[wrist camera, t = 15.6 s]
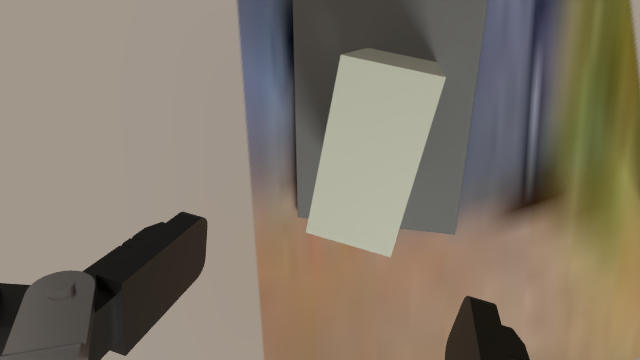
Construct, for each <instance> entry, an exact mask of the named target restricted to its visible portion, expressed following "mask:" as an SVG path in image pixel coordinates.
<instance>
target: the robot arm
mask: <svg viewBox="0 0 640 360" xmlns="http://www.w3.org/2000/svg"><path fill="white" fill-rule="evenodd" d="M206 239H207V220H206V219H205V218H203V217H200V216H196V215H193V214H189V213H186V212H181V213H179V214H178V215H176V216H175V217H174V218H172V219H171V220H170V221H168V222H167V223H164V222H161V223H158V224H155V225H152V226H149V227H146V228H144V229H143V230H141V231H140V232H139V233H137V234H136V235H134V236H133V238H132V239H129V240H127V241H126V242H124V243H123V244H122V246H119V247H117V248H116V249H114V250H113V251H111V252H110V253H108V254H107V255H106V256H104V257H103V258H101V259H100V260H98V261H97V262H96V263H94V264H93V265H91V266H90V267H88V268H87V269H85V270H84V271H83V272H81V271H62V272H57V273H53V274H50V275H47V276H45V277H42V278H41V279H39V280H37V281H36V282H34V283H33V284H32V285H20V284H4V283H0V360H101V358H102V357H103V356H104V355H105V354H106V353H107V352H108V351H109V350H111V351H113V352H116V353H119V354H122V355H124V356H126V355H127V354H128V353H129V352H130V350H131V349H132V348H133V347H134V346H135V345H136V344H137V342H139V341H140V340H141V339H142V337H143V336H144V335H145V334H146V333H147V332H148V331H149V330H150V329H151V327H153V325H155V323H156V322H157V321H158V320H159V319H160V318H161V317H162V316H163V315H164V314H165V313H166V312H167V310H168V309H169V308H170V307H171V306H172V305H173V304H174V303H175V302H176V301H177V300H178V298H179V297H180V296H181V295H182V294H183V293H184V292H185V291H186V290H187V289H188V288H189V287H190V286H191V285H192V283H193V282H194V281H195V280H196V279H197V278H198V277H199V275H200V273H201V271H202V269H203V267H204V263H205V256H206ZM445 360H530V359H529V356H528V353H527V350H526V347H525V344H524V343H523V342H522V341H521V339H520V338H519V337H518V335H517V334H516V333H515V331H514V330H513V329H512V328H510V327H506V326H503V325H501V321H500V317H499V314H498V310H497V307H496V305H495V304H494V303H490V302H487V301H484V300H480V299H477V298H473V297H470V296H466V297H465V298H464V300H463V302H462V305H461V307H460V310H459V312H458V315H457V317H456V320H455V322H454V325H453V327H452V329H451V332H450V334H449V337H448V340H447V345H446V351H445Z"/></svg>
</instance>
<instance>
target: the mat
mask: <svg viewBox="0 0 640 360" xmlns="http://www.w3.org/2000/svg"><path fill="white" fill-rule="evenodd" d="M487 5H488V0H293V34H294V76H295V118H296V160H297V203H298V217H301V218H309V214H310V209H311V204H312V198H313V193H314V188H315V183H316V178H317V173H318V168H319V163H320V158H321V153H322V148H323V142H324V137H325V132H326V127H327V122H328V117H329V112H330V107H331V102H332V97H333V91H334V86H335V81H336V76H337V71H338V66H339V61H340V56H341V54H345V53H349V52H353V51H357V50H361V49H365V48H372V49H377V50H381V51H386V52H391V53H396V54H400V55H405V56H410V57H415V58H419V59H424V60H429V61H434V62H437V63H438V65H439V66H440V68H441V70H442V71H443V73H444V75H445V77H446V79H445V82H444V85H443V89H442V92H441V95H440V98H439V102H438V105H437V108H436V111H435V115H434V118H433V121H432V124H431V128H430V131H429V134H428V137H427V141H426V144H425V147H424V150H423V154H422V157H421V160H420V163H419V167H418V170H417V173H416V176H415V180H414V183H413V186H412V189H411V193H410V196H409V199H408V202H407V206H406V209H405V212H404V215H403V219H402V222H401V225H400V229H409V230H418V231H427V232H436V233H445V234H454V235H455V230H456V223H457V216H458V209H459V202H460V195H461V188H462V181H463V174H464V167H465V160H466V153H467V146H468V139H469V132H470V125H471V118H472V111H473V104H474V97H475V89H476V82H477V75H478V68H479V61H480V54H481V47H482V40H483V33H484V26H485V19H486V12H487Z"/></svg>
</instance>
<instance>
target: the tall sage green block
mask: <svg viewBox="0 0 640 360" xmlns="http://www.w3.org/2000/svg"><path fill="white" fill-rule="evenodd" d="M445 79H446V77H445V75H444V73H443V71H442V70H441V68H440V66H439V65H438V63H437V62H434V61H429V60H424V59H419V58H415V57H410V56H405V55H400V54H396V53H391V52H386V51H381V50H377V49H372V48H365V49H361V50H357V51H353V52H349V53H345V54H341V56H340V61H339V66H338V71H337V76H336V81H335V86H334V91H333V97H332V102H331V107H330V112H329V117H328V122H327V127H326V132H325V137H324V142H323V148H322V153H321V158H320V163H319V168H318V173H317V178H316V183H315V188H314V193H313V198H312V204H311V209H310V214H309V219H308V224H307V229H306V233H310V234H313V235H316V236H320V237H323V238H327V239H330V240H333V241H337V242H340V243H344V244H347V245H350V246H354V247H357V248H361V249H364V250H367V251H371V252H374V253H378V254H381V255H384V256H388V257H391V254H392V251H393V248H394V244H395V241H396V238H397V235H398V231H399V228H400V225H401V222H402V219H403V215H404V212H405V209H406V206H407V202H408V199H409V196H410V193H411V189H412V186H413V183H414V180H415V176H416V173H417V170H418V167H419V163H420V160H421V157H422V154H423V150H424V147H425V144H426V141H427V137H428V134H429V131H430V128H431V124H432V121H433V118H434V115H435V111H436V108H437V105H438V102H439V98H440V95H441V92H442V89H443V85H444V82H445Z"/></svg>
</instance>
